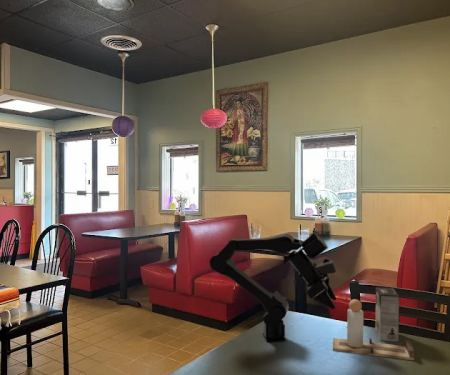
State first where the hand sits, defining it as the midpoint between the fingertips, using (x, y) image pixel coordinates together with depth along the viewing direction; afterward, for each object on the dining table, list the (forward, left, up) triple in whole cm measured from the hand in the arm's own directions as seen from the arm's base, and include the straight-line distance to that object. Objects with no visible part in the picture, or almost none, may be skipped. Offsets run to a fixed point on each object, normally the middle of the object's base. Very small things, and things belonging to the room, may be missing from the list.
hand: (334, 303), depth 128 cm
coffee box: (+22, +5, -14) cm, 26 cm away
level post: (+6, -2, -13) cm, 14 cm away
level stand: (+11, -5, -14) cm, 18 cm away
